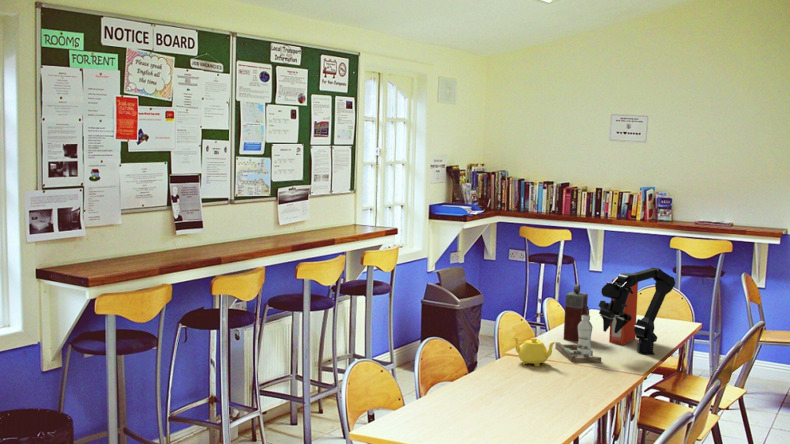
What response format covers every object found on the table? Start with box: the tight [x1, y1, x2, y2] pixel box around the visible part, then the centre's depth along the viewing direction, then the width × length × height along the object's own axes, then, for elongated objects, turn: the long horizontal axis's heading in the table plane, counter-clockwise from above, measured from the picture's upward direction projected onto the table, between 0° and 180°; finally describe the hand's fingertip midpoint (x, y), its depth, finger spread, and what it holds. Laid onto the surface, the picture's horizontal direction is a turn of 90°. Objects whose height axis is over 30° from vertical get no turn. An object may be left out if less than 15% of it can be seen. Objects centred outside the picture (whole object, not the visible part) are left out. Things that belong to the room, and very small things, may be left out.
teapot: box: [512, 335, 557, 367], centre depth 346 cm, size 20×15×12 cm
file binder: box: [608, 277, 639, 346], centre depth 393 cm, size 8×17×32 cm, turn 146°
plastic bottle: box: [576, 314, 593, 357], centre depth 356 cm, size 6×7×20 cm
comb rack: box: [554, 341, 602, 363], centre depth 362 cm, size 14×24×4 cm, turn 5°
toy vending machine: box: [563, 284, 590, 343], centre depth 393 cm, size 9×11×28 cm
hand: (609, 332), depth 362 cm, fingers open, 9 cm apart
